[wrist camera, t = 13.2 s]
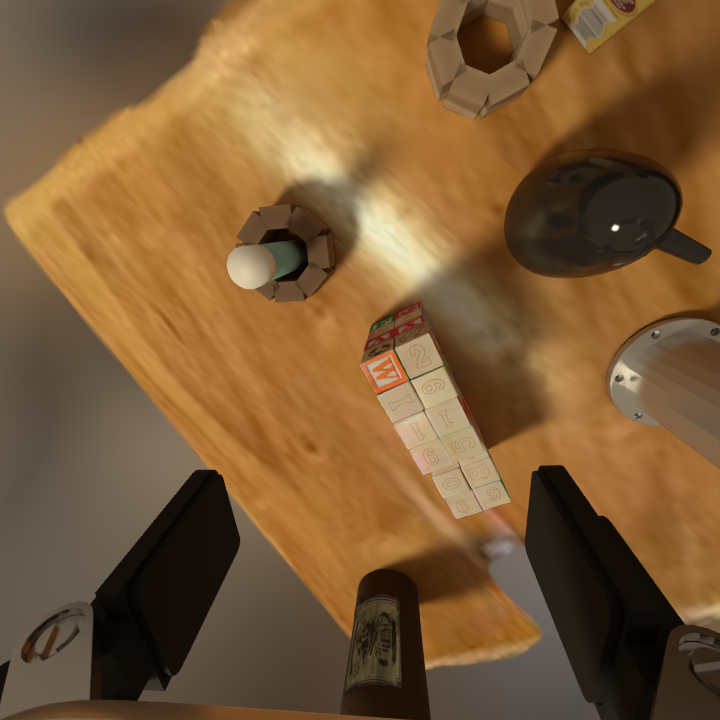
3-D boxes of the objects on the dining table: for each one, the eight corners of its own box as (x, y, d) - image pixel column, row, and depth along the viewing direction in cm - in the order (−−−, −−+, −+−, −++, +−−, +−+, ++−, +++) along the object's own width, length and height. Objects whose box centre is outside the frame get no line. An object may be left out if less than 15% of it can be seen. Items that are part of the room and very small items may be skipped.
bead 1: (329, 203, 36) (321, 200, 32) (339, 291, 39) (333, 298, 35) (245, 212, 37) (228, 210, 33) (261, 297, 40) (247, 304, 36)
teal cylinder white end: (306, 238, 37) (263, 244, 25) (310, 268, 38) (271, 287, 26) (278, 240, 37) (222, 247, 25) (283, 270, 39) (232, 290, 26)
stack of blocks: (489, 449, 44) (522, 526, 33) (443, 465, 46) (459, 544, 35) (419, 300, 38) (429, 332, 27) (369, 324, 40) (358, 364, 29)
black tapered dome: (555, 290, 37) (655, 332, 23) (472, 239, 36) (523, 249, 21) (629, 197, 33) (805, 176, 19) (539, 136, 32) (653, 67, 18)
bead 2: (517, -41, 28) (536, -81, 24) (548, 82, 30) (569, 62, 27) (412, 27, 30) (414, -1, 26) (449, 136, 33) (456, 124, 29)
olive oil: (431, 606, 56) (456, 878, 32) (370, 618, 58) (353, 879, 35) (406, 559, 53) (415, 825, 29) (343, 574, 55) (305, 830, 32)
